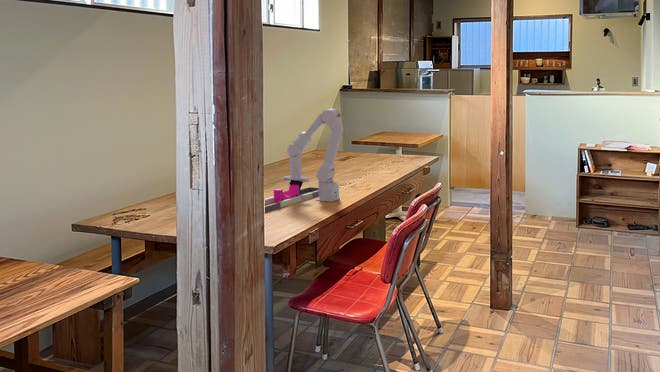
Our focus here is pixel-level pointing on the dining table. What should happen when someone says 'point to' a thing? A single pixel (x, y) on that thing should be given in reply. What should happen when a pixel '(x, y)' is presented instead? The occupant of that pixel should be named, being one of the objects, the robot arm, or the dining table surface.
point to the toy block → (286, 193)
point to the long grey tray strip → (303, 195)
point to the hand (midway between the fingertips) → (296, 195)
